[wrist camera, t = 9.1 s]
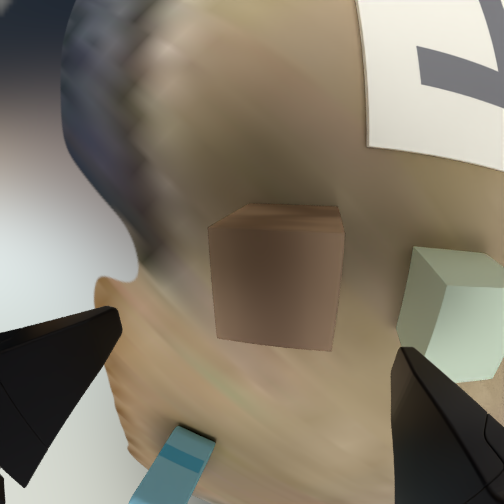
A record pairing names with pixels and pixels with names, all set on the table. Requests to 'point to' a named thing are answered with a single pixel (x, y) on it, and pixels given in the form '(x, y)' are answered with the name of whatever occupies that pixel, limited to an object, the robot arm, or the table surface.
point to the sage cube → (455, 312)
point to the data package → (175, 469)
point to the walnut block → (277, 275)
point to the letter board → (435, 77)
